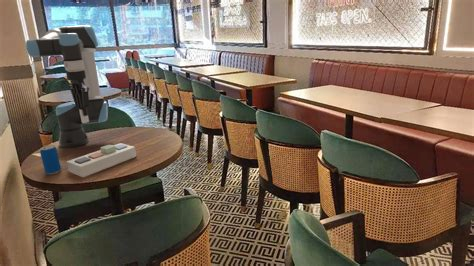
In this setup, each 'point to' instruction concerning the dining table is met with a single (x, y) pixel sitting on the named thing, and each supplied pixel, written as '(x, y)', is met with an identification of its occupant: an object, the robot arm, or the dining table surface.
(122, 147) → the slate key
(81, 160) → the charcoal key
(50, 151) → the beverage can
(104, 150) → the sage key
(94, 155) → the terracotta key
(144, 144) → the dining table surface
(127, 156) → the keypad
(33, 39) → the robot arm
